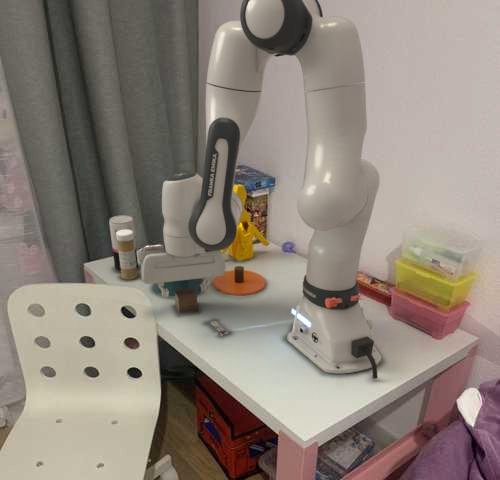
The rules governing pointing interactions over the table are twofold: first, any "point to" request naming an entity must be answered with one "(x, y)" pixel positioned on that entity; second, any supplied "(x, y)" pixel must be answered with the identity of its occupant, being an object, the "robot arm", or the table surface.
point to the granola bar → (219, 328)
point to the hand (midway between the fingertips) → (184, 294)
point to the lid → (239, 282)
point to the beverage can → (116, 225)
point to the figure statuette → (244, 232)
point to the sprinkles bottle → (127, 254)
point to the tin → (180, 285)
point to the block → (186, 300)
